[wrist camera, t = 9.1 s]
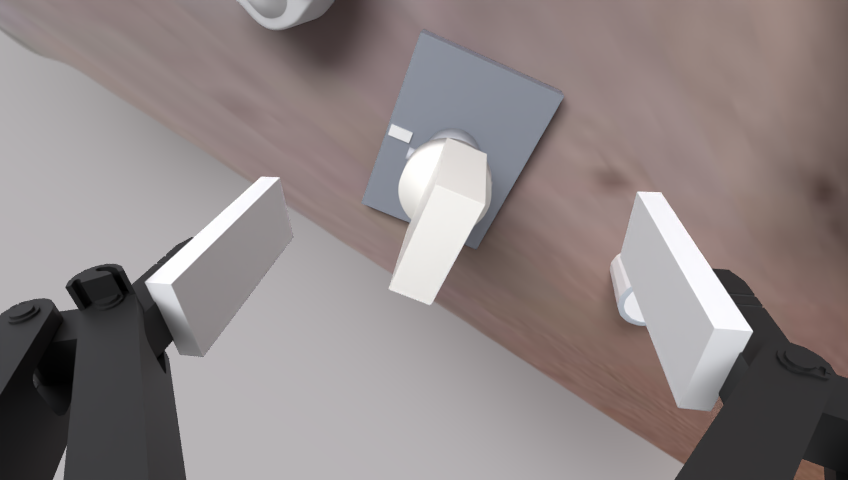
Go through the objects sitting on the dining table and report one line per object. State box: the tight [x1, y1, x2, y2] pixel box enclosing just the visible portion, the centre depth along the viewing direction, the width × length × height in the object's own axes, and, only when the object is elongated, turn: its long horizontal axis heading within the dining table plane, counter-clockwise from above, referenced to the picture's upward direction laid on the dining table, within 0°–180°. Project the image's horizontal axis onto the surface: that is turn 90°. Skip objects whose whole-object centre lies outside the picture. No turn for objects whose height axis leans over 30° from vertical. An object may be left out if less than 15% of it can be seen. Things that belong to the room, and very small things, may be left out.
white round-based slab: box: [389, 137, 492, 305], centre depth 37 cm, size 12×8×12 cm
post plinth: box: [362, 29, 564, 249], centre depth 45 cm, size 15×20×8 cm
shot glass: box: [610, 253, 646, 326], centre depth 51 cm, size 7×7×7 cm
